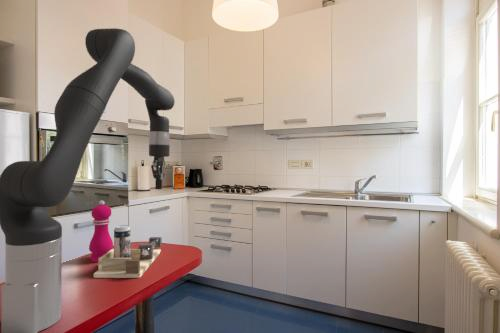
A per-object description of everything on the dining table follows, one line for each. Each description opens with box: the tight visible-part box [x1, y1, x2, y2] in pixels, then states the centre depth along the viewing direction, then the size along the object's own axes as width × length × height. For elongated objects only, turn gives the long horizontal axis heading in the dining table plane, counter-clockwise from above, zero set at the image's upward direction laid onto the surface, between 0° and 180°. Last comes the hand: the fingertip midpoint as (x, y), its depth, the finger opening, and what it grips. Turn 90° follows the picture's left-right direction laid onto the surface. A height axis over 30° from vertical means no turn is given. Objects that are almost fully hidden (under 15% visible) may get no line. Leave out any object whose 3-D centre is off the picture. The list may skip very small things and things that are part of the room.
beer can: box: [113, 224, 131, 258], centre depth 88 cm, size 5×5×12 cm
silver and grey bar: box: [141, 236, 162, 257], centre depth 100 cm, size 14×4×3 cm, turn 3°
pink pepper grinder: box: [88, 200, 114, 263], centre depth 96 cm, size 7×7×20 cm
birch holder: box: [93, 243, 162, 279], centre depth 93 cm, size 23×13×6 cm, turn 3°
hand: (158, 189), depth 109 cm, fingers closed
